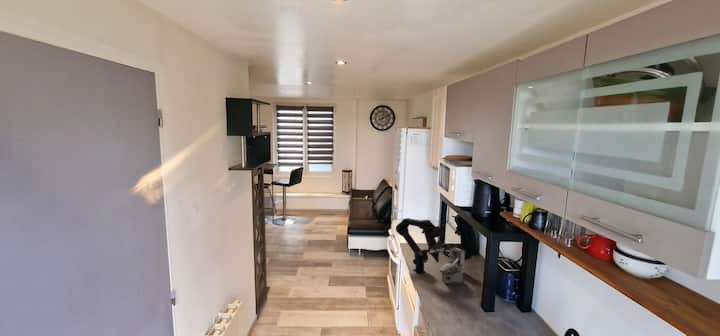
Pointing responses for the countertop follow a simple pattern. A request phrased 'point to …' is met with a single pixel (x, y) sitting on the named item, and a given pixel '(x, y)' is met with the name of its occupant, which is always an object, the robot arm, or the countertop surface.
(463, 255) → the coffee box
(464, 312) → the countertop surface
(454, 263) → the cooker lid
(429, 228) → the robot arm
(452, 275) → the cooker pot
